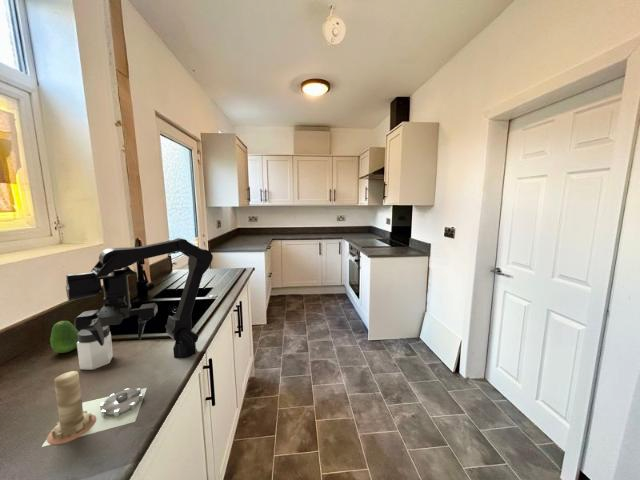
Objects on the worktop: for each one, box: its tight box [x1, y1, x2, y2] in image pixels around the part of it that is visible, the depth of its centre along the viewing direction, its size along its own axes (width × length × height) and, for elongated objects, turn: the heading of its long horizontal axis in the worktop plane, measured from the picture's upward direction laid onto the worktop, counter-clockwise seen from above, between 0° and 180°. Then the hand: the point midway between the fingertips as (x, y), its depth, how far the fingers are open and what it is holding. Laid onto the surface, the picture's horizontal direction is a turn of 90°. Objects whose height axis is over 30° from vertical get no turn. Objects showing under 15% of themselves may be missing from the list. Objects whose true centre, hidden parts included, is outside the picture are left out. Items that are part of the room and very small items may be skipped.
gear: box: [100, 387, 144, 418], centre depth 68 cm, size 9×9×2 cm
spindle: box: [51, 370, 92, 441], centre depth 60 cm, size 7×7×13 cm
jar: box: [76, 325, 114, 371], centre depth 88 cm, size 9×8×12 cm
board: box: [41, 387, 148, 448], centre depth 65 cm, size 17×14×1 cm
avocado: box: [49, 320, 79, 354], centre depth 95 cm, size 8×8×12 cm
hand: (121, 341), depth 77 cm, fingers open, 9 cm apart
